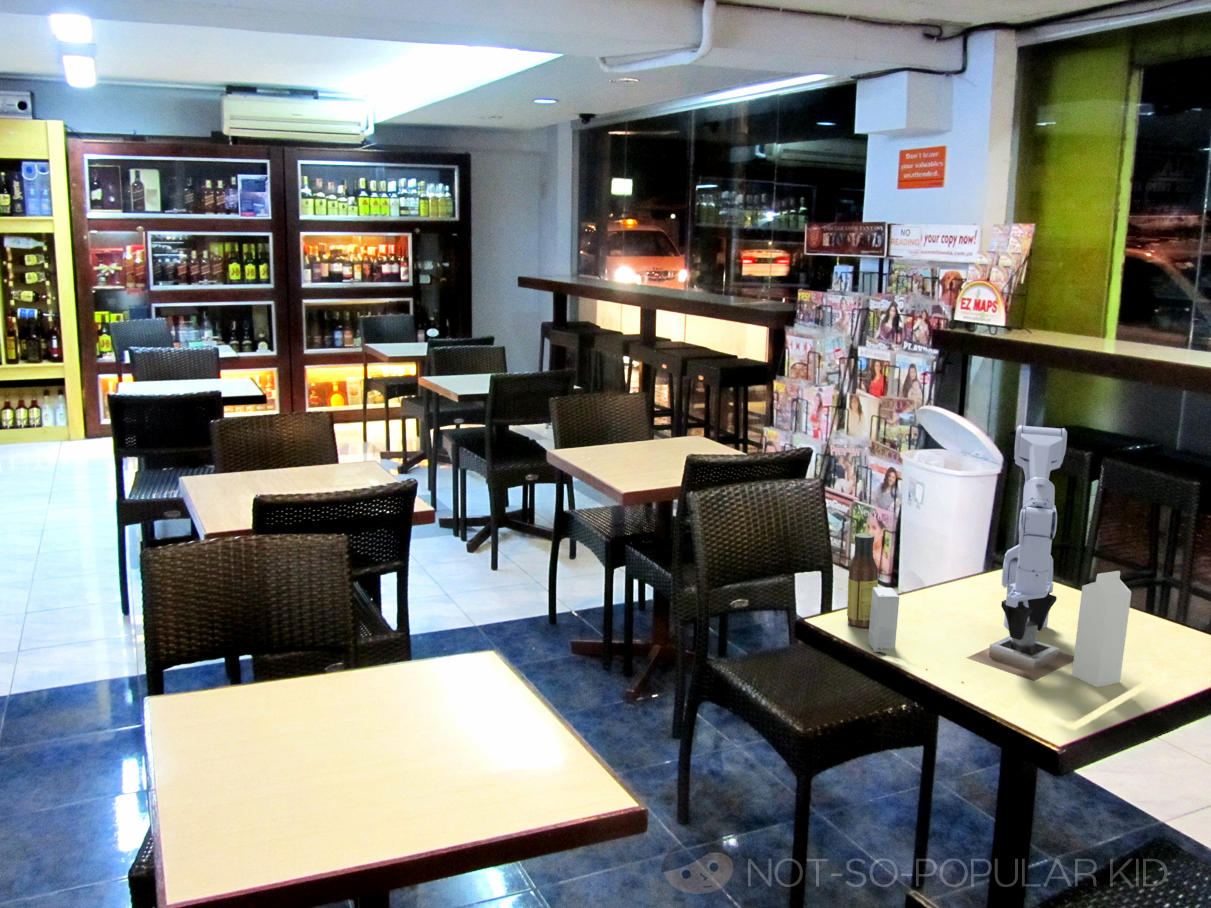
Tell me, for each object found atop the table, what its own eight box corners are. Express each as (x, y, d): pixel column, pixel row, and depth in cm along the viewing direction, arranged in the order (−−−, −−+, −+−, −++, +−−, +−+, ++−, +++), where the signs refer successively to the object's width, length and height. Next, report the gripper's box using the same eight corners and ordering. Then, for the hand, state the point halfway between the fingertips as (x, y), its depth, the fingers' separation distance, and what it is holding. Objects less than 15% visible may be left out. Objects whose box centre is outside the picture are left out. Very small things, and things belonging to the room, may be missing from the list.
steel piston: (1016, 651, 212) (1019, 618, 211) (1038, 657, 209) (1041, 624, 208) (1005, 656, 209) (1009, 623, 208) (1027, 663, 206) (1031, 629, 205)
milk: (1119, 687, 199) (1135, 575, 194) (1095, 692, 196) (1111, 579, 192) (1093, 675, 204) (1107, 566, 199) (1069, 679, 202) (1084, 569, 197)
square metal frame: (1013, 645, 216) (1014, 634, 215) (1057, 659, 209) (1059, 648, 208) (988, 656, 210) (989, 644, 209) (1033, 671, 203) (1035, 659, 202)
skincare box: (895, 653, 212) (900, 597, 210) (874, 653, 213) (878, 596, 210) (888, 642, 218) (892, 587, 216) (867, 641, 219) (871, 586, 216)
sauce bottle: (879, 622, 230) (886, 534, 226) (870, 631, 224) (877, 541, 220) (850, 616, 233) (857, 529, 229) (840, 624, 228) (847, 535, 224)
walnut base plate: (1013, 641, 220) (1013, 636, 220) (1078, 662, 210) (1079, 657, 210) (966, 662, 209) (966, 657, 209) (1033, 685, 198) (1033, 680, 198)
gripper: (1032, 555, 213) (1025, 619, 216) (994, 569, 204) (987, 635, 207) (1066, 564, 208) (1058, 629, 211) (1028, 579, 198) (1021, 647, 201)
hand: (1025, 633), depth 208 cm, fingers open, 7 cm apart
